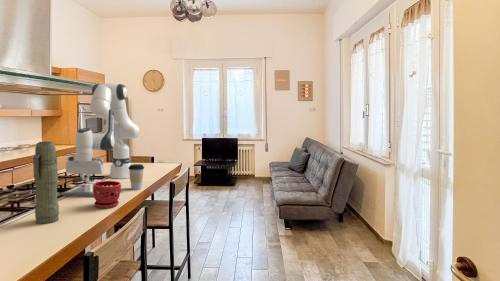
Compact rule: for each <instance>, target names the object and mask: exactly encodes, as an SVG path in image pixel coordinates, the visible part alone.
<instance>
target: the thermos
mask: <svg viewBox="0 0 500 281" xmlns="http://www.w3.org/2000/svg"><path fill="white" fill-rule="evenodd" d="M56 149H57V148H56V146H55V143H54V142H52V141H39V142H37V143H36V145H35V148H34V155H33V157H32V159H33V163H32V165H33V179H34V184H35V195H36V196H35V201H36V202H35V206H34V214H35V215H34V217H35V223H36V224H37V225H38V224H39V225H49V224H52V223H56V222H58V221H59V214H60V209H59V208H60V206H59V203H58V185H57V184H58V182H59V176H58V175H59V170H58V154H57V151H56Z"/></svg>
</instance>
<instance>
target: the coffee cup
mask: <svg viewBox="0 0 500 281" xmlns="http://www.w3.org/2000/svg"><path fill="white" fill-rule="evenodd" d="M128 169H129V171H130V178H129V180H130V188H131V190H132V191H138V190H141V189H142V184H143V178H144V176H143V175H144V169H145V166H144V165H143V164H140V163H139V164H137V163H135V164H132V165H130V167H129V168H128Z"/></svg>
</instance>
